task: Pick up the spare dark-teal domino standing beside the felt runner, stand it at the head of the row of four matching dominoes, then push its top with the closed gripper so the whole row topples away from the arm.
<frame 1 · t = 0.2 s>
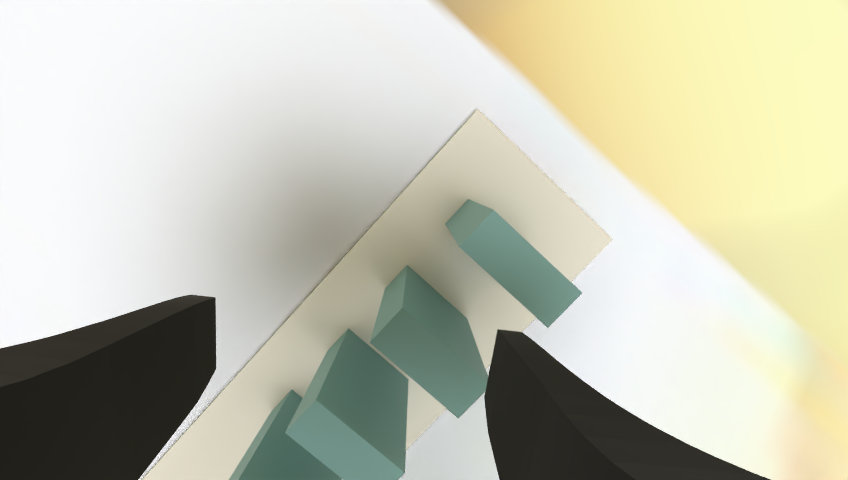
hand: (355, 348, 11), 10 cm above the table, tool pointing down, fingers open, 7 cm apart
tile 4: (426, 303, 21), resting on felt runner
felt runner: (364, 367, 22), on the table
tile 2: (311, 424, 22), resting on felt runner
tile 5: (486, 239, 21), resting on felt runner
tile 3: (368, 365, 22), resting on felt runner
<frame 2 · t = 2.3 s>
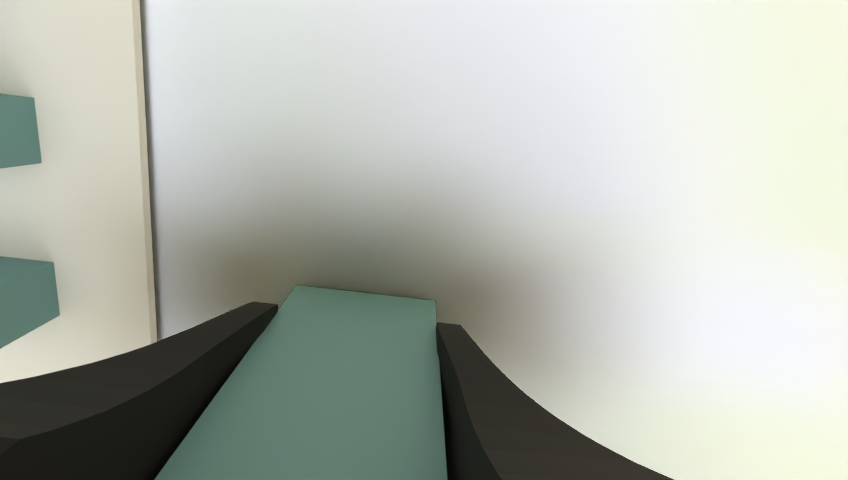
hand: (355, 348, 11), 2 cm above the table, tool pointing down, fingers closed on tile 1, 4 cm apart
tile 1: (363, 318, 13), on the table, touching gripper
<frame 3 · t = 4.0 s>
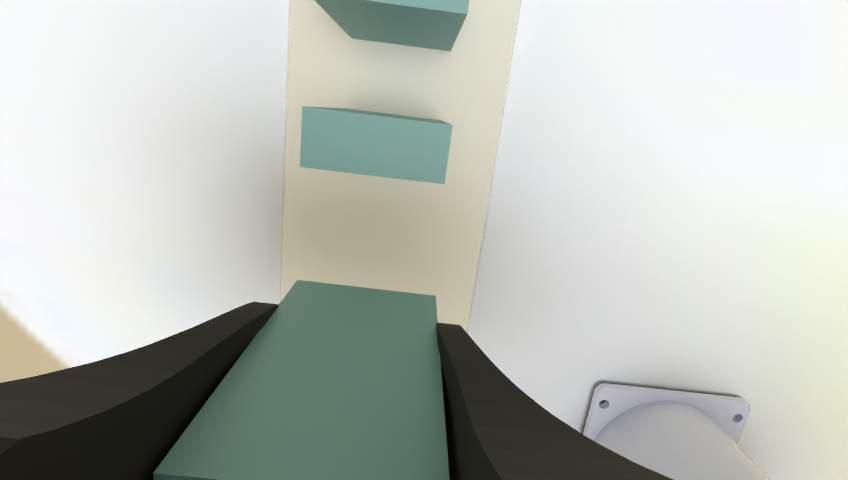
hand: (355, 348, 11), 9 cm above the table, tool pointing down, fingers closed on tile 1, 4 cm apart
felt runner: (402, 32, 18), on the table
tile 2: (392, 133, 19), resting on felt runner
tile 1: (364, 312, 13), point 8 cm above the table, touching gripper
tile 3: (403, 23, 17), resting on felt runner
when the fingers open (2 cm above the table, at t = 5.8 s): tile 1 stays where it is, resting on felt runner.
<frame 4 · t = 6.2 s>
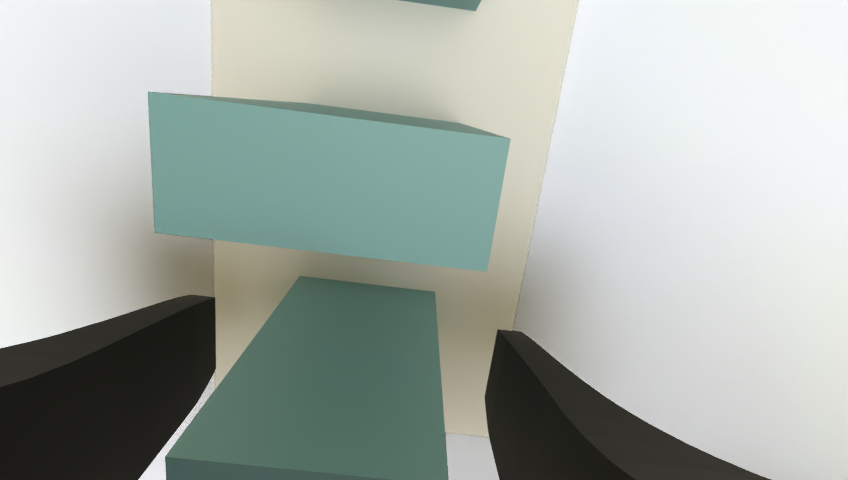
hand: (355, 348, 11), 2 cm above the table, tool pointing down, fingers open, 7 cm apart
tile 2: (381, 143, 12), resting on felt runner
tile 1: (365, 308, 13), resting on felt runner
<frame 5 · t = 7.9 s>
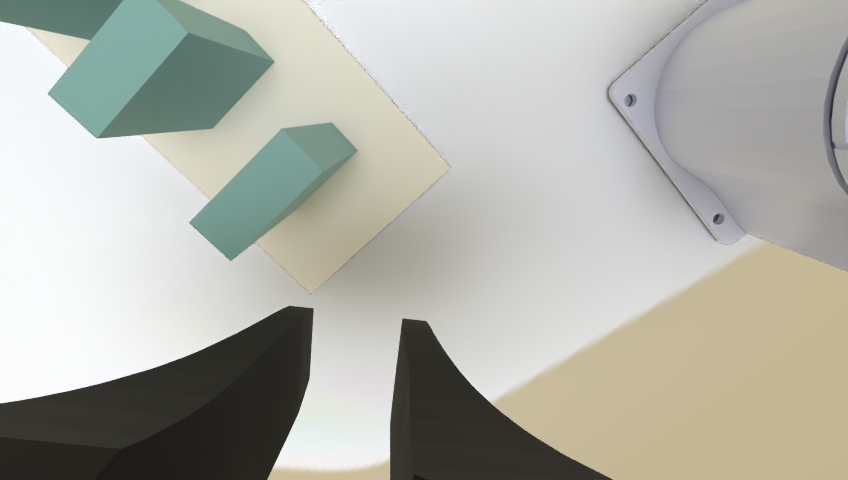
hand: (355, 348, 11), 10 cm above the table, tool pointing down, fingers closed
felt runner: (155, 4, 18), on the table
tile 2: (228, 81, 18), resting on felt runner
tile 1: (312, 167, 19), resting on felt runner
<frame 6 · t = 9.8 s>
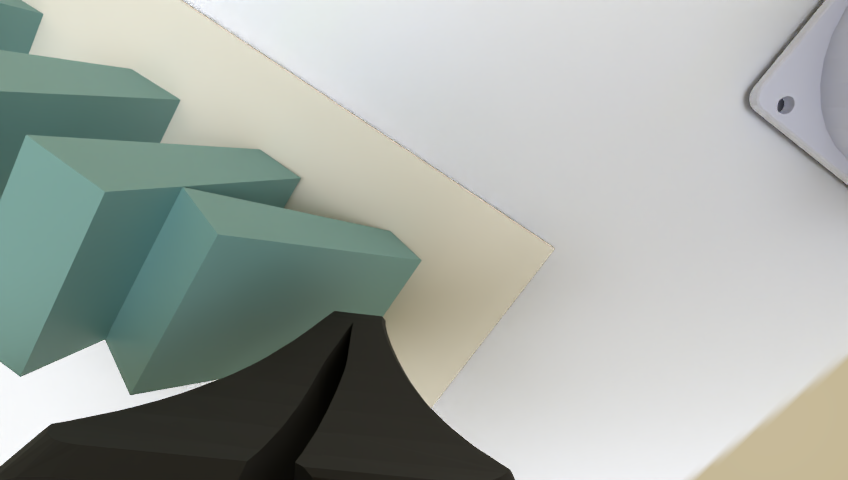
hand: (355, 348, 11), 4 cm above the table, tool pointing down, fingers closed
felt runner: (145, 145, 14), on the table
tile 2: (251, 215, 14), resting on felt runner, tilted 12°
tile 1: (373, 293, 15), point 1 cm above the table, tilted 38°
tile 3: (130, 141, 14), resting on felt runner
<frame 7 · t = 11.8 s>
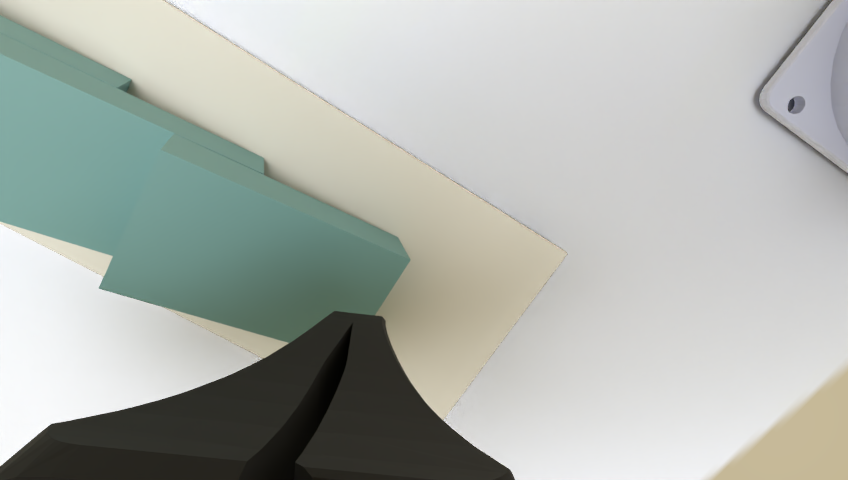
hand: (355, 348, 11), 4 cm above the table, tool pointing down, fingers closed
felt runner: (158, 162, 14), on the table
tile 2: (235, 220, 14), point 1 cm above the table, tilted 69°, touching felt runner, tile 1, tile 3
tile 1: (372, 297, 14), point 1 cm above the table, tilted 70°, touching felt runner, tile 2
tile 3: (100, 144, 13), point 1 cm above the table, tilted 69°, touching felt runner, tile 2, tile 4
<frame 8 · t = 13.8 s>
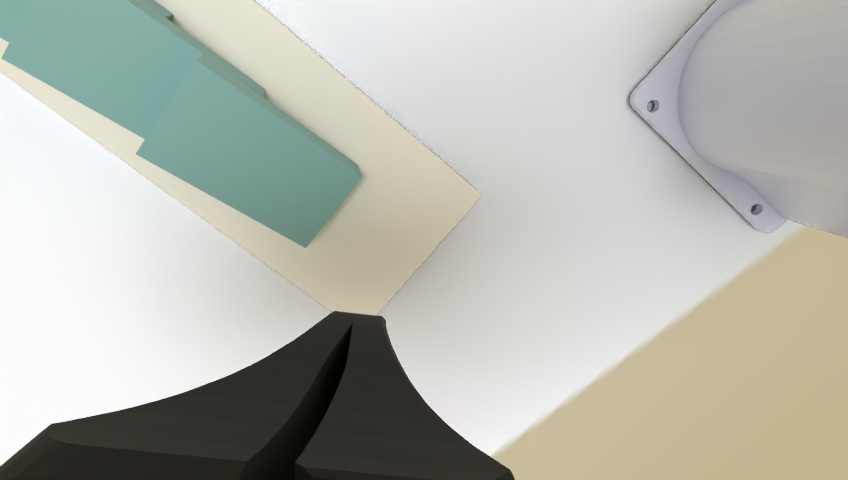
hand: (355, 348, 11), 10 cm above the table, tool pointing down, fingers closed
felt runner: (183, 80, 19), on the table
tile 2: (236, 131, 18), point 1 cm above the table, tilted 69°, touching felt runner, tile 1, tile 3
tile 1: (331, 205, 19), point 1 cm above the table, tilted 70°, touching felt runner, tile 2
tile 3: (143, 58, 17), point 1 cm above the table, tilted 69°, touching felt runner, tile 2, tile 4
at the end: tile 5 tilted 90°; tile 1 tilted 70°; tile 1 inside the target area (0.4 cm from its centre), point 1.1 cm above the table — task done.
